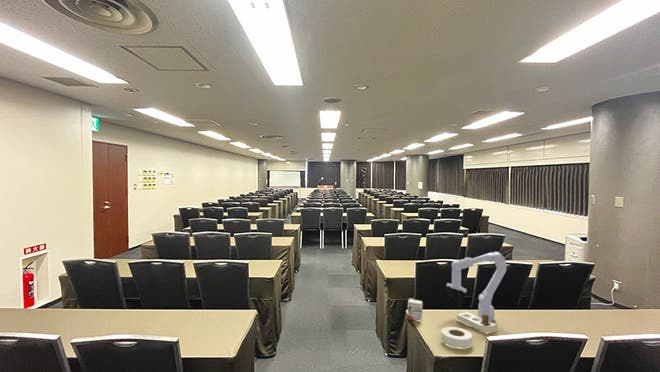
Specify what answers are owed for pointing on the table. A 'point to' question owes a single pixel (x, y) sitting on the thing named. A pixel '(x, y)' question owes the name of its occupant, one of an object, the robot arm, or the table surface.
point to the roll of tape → (456, 337)
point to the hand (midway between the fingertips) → (456, 300)
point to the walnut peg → (485, 319)
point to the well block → (476, 322)
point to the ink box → (414, 309)
